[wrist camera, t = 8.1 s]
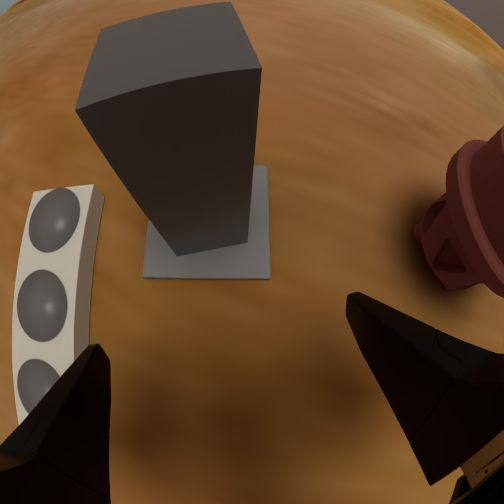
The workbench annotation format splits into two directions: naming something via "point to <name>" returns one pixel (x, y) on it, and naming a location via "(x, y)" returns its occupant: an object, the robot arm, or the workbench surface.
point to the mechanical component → (468, 219)
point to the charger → (179, 120)
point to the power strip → (53, 289)
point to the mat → (222, 259)
